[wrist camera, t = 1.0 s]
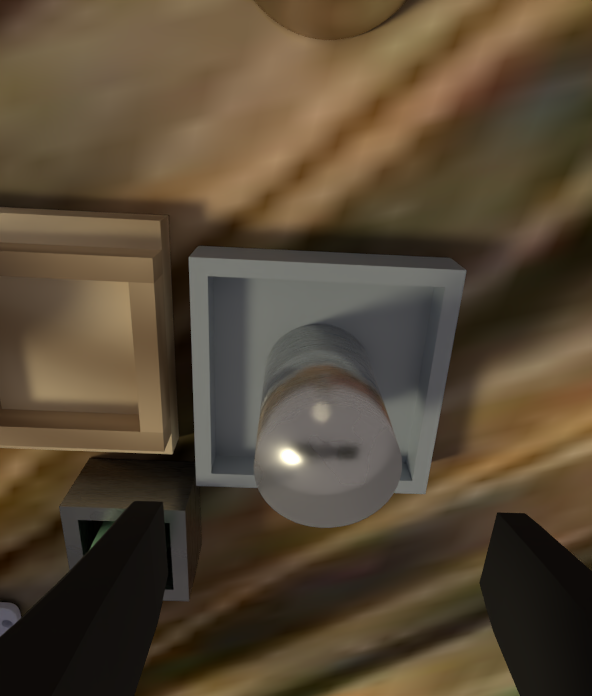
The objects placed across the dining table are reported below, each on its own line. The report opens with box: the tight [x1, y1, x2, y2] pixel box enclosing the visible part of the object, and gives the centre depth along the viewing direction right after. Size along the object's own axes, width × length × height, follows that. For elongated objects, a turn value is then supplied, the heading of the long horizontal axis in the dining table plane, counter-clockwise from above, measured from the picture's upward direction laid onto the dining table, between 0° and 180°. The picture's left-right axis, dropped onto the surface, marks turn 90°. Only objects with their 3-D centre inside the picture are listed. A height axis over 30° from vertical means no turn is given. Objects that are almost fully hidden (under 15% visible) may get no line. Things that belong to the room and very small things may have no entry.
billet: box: [254, 324, 402, 528], centre depth 16 cm, size 4×4×6 cm
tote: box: [189, 246, 467, 494], centre depth 19 cm, size 9×9×2 cm
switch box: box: [59, 458, 201, 601], centre depth 21 cm, size 5×5×3 cm
